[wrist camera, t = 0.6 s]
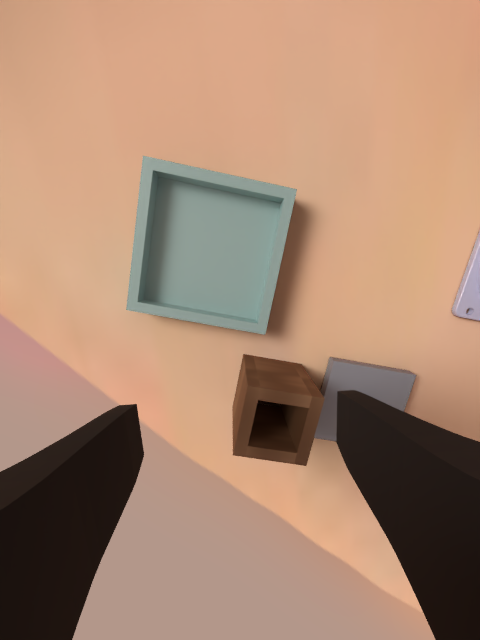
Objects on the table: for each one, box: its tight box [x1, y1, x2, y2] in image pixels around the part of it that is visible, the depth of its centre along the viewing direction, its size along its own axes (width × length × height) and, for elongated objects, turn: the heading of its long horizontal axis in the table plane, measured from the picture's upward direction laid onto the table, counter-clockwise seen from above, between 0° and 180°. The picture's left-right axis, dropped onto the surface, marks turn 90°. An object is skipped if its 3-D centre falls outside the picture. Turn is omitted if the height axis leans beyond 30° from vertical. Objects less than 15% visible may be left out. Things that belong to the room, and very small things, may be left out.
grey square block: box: [314, 357, 416, 441], centre depth 18 cm, size 6×6×4 cm
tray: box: [126, 156, 297, 335], centre depth 17 cm, size 9×9×2 cm
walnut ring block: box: [233, 354, 325, 466], centre depth 17 cm, size 4×4×5 cm
